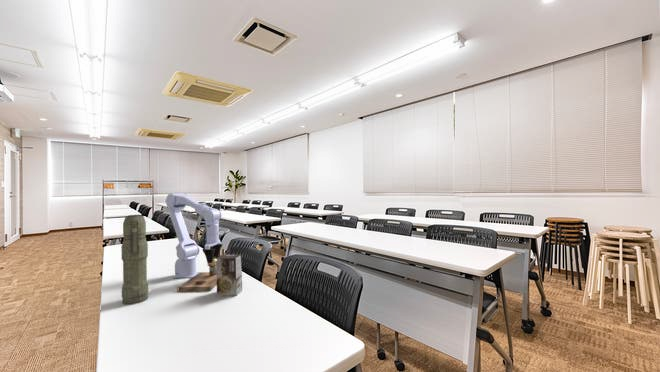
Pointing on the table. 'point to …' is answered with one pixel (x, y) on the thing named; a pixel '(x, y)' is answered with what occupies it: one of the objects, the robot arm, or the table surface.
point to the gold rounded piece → (212, 267)
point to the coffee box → (229, 274)
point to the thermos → (134, 260)
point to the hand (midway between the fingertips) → (213, 260)
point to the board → (199, 283)
